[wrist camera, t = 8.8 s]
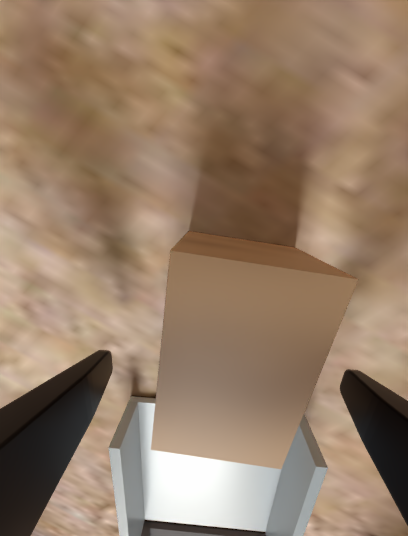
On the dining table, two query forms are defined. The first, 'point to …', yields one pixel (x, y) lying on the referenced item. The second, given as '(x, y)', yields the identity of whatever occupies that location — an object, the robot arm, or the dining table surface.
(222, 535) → the dark gray shallow tray
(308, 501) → the grey bracket
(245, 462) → the block
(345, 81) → the dining table surface
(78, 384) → the robot arm
